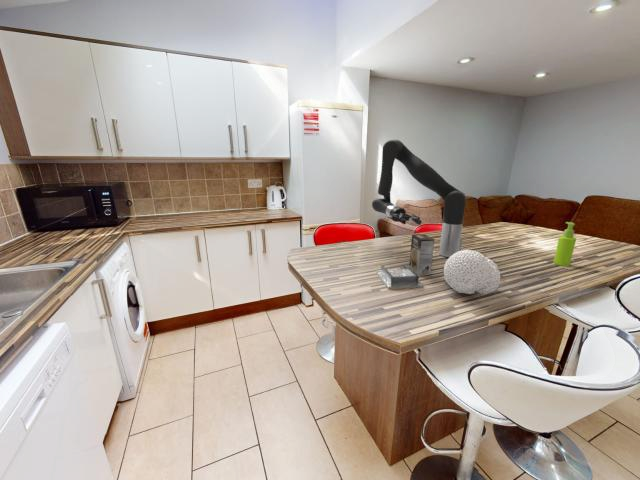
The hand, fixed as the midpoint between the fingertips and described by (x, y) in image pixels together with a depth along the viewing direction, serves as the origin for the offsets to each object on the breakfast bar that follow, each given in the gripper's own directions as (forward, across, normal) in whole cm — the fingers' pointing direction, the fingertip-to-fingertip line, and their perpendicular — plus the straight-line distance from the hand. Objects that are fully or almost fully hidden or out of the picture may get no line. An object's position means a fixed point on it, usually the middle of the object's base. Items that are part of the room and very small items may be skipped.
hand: (412, 222), depth 130 cm
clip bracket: (+21, -16, +18) cm, 32 cm away
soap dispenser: (+26, +68, +10) cm, 73 cm away
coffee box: (+16, -2, +18) cm, 24 cm away
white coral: (+37, +4, +14) cm, 40 cm away
